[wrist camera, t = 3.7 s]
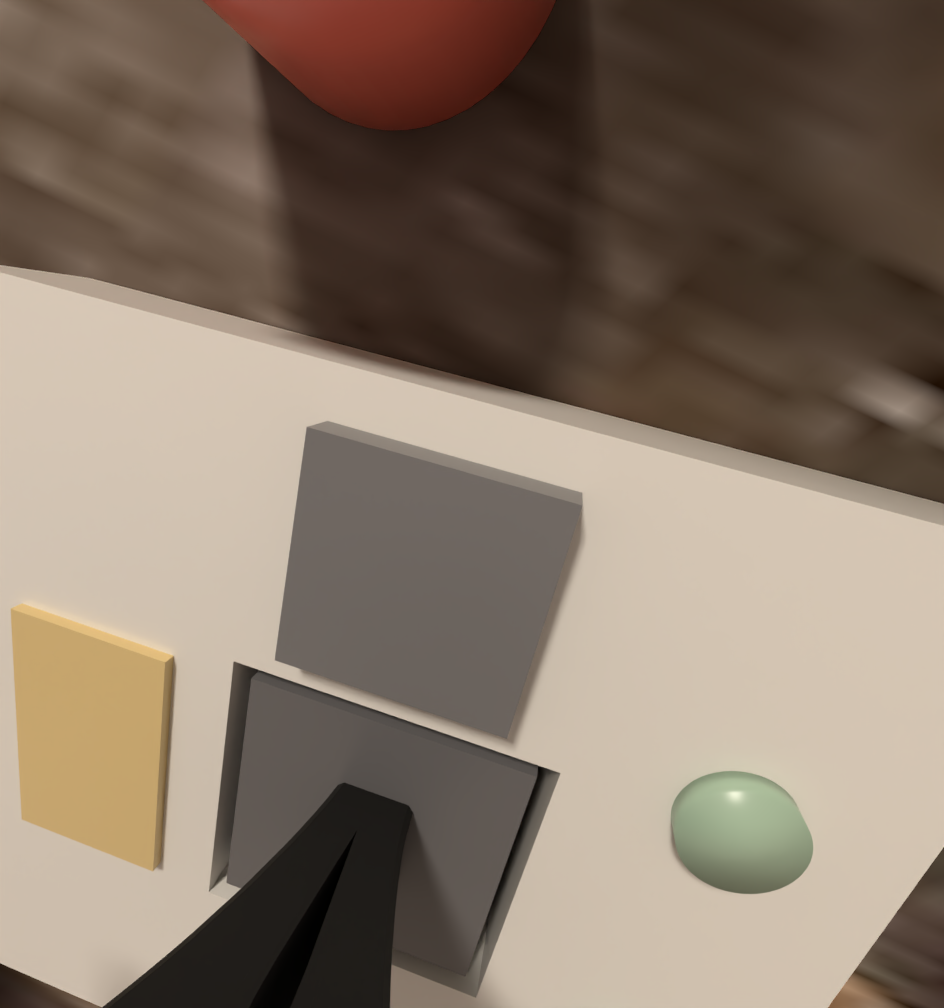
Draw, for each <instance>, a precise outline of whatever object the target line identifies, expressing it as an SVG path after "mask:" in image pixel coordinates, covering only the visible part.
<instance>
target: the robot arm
mask: <svg viewBox="0 0 944 1008" xmlns="http://www.w3.org/2000/svg"><path fill="white" fill-rule="evenodd" d="M412 815H413V812H412V810H411V808H410V807H409V805H406V804H403V803H401V802H398V801H395V800H392V799H389V798H386V797H384V796H381V795H378V794H375V793H373V792H370V791H367V790H364V789H361V788H359V787H356V786H353V785H350V784H348V783H345V782H344V783H342V784H339V785H337V787H336V788H335V789H334V790H333V792H332V793H331V794H330V795H329V797H328V798H327V799H326V800H325V801H324V803H323V804H322V805H321V806H320V807H319V808H318V810H317V811H316V812H315V813H314V814H313V815H312V816H311V818H310V819H309V820H308V821H307V822H306V823H305V824H304V825H303V826H302V827H301V828H300V830H299V831H298V832H297V833H296V834H295V835H294V836H293V837H292V838H291V839H290V840H289V841H288V842H287V843H286V844H285V845H284V847H283V848H281V849H280V850H279V851H278V852H277V853H276V854H275V855H274V856H273V857H272V858H271V859H270V860H269V861H268V862H267V863H266V864H265V865H264V866H263V867H262V868H261V869H260V870H259V871H258V872H257V873H256V874H255V875H254V876H253V877H252V878H251V879H250V880H249V881H248V882H247V883H246V884H245V885H244V886H243V887H242V888H241V889H240V890H239V891H238V892H237V893H236V894H235V895H233V896H232V897H231V898H230V899H229V900H228V901H227V902H226V903H225V904H224V905H222V906H221V907H220V908H219V909H218V910H217V911H216V912H215V913H214V914H213V915H211V916H210V917H209V918H208V919H207V920H206V921H205V922H204V923H203V924H202V925H200V926H199V927H198V928H197V929H196V930H195V931H194V932H193V933H192V934H190V935H189V936H188V937H187V938H186V939H185V940H184V941H182V942H181V943H180V944H179V945H178V946H177V947H175V948H174V949H173V950H172V951H171V952H170V953H168V954H167V955H166V956H165V957H164V958H162V959H161V960H160V961H159V962H158V963H156V964H155V965H154V966H153V967H152V968H150V969H149V970H148V971H147V972H146V973H144V974H143V975H142V976H141V977H139V978H138V979H137V980H136V981H134V982H133V983H132V984H131V985H130V986H128V987H127V988H126V989H125V990H123V991H122V992H121V993H120V994H118V995H117V996H116V997H115V998H113V999H112V1000H111V1001H110V1002H108V1003H107V1004H106V1005H104V1006H103V1007H102V1008H390V988H391V965H392V948H393V935H394V922H395V908H396V899H397V889H398V882H399V875H400V868H401V861H402V855H403V849H404V845H405V841H406V837H407V833H408V830H409V826H410V822H411V818H412Z"/></svg>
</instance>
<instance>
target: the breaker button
mask: <svg viewBox="0 0 944 1008" xmlns="http://www.w3.org/2000/svg"><path fill="white" fill-rule="evenodd" d="M537 772H538V765H535V764H532V763H529V762H527V761H524V760H521V759H518V758H515V757H512V756H509V755H506V754H503V753H500V752H497V751H494V750H492V749H489V748H486V747H483V746H480V745H477V744H474V743H471V742H468V741H465V740H462V739H459V738H456V737H454V736H451V735H448V734H445V733H442V732H439V731H436V730H433V729H430V728H427V727H424V726H421V725H418V724H416V723H413V722H410V721H407V720H404V719H401V718H398V717H395V716H392V715H389V714H386V713H383V712H380V711H378V710H375V709H372V708H369V707H366V706H363V705H360V704H357V703H354V702H351V701H348V700H345V699H342V698H340V697H337V696H334V695H331V694H328V693H325V692H322V691H319V690H316V689H313V688H310V687H307V686H304V685H302V684H299V683H296V682H293V681H290V680H287V679H284V678H281V677H278V676H275V675H272V674H269V673H266V672H264V671H261V670H259V671H258V672H257V673H256V674H255V675H254V676H253V677H252V678H251V685H250V693H249V701H248V709H247V718H246V726H245V734H244V742H243V750H242V759H241V767H240V775H239V783H238V791H237V800H236V808H235V816H234V824H233V832H232V840H231V849H230V857H229V865H228V873H227V881H226V883H228V884H230V885H233V886H236V887H238V888H242V887H243V886H244V885H245V884H246V883H247V882H248V881H249V880H250V879H251V878H252V877H253V876H254V875H255V874H256V873H257V872H258V871H259V870H260V869H261V868H262V867H263V866H264V865H265V864H266V863H267V862H268V861H269V860H270V859H271V858H272V857H273V856H274V855H275V854H276V853H277V852H278V851H279V850H280V849H281V848H283V847H284V845H285V844H286V843H287V842H288V841H289V840H290V839H291V838H292V837H293V836H294V835H295V834H296V833H297V832H298V831H299V830H300V828H301V827H302V826H303V825H304V824H305V823H306V822H307V821H308V820H309V819H310V818H311V816H312V815H313V814H314V813H315V812H316V811H317V810H318V808H319V807H320V806H321V805H322V804H323V803H324V801H325V800H326V799H327V798H328V797H329V795H330V794H331V793H332V792H333V790H334V789H335V788H336V787H337V785H339V784H342V783H344V782H345V783H348V784H350V785H353V786H356V787H359V788H361V789H364V790H367V791H370V792H373V793H375V794H378V795H381V796H384V797H386V798H389V799H392V800H395V801H398V802H401V803H403V804H406V805H409V807H410V808H411V810H412V812H413V815H412V818H411V822H410V826H409V830H408V833H407V837H406V841H405V845H404V849H403V855H402V861H401V868H400V875H399V882H398V889H397V899H396V908H395V922H394V935H393V949H396V950H399V951H401V952H404V953H406V954H409V955H411V956H414V957H416V958H419V959H421V960H424V961H427V962H429V963H432V964H434V965H437V966H439V967H442V968H444V969H447V970H449V971H452V972H455V973H457V974H460V975H462V976H466V974H467V971H468V968H469V965H470V963H471V960H472V957H473V954H474V951H475V949H476V946H477V943H478V940H479V937H480V935H481V932H482V929H483V926H484V923H485V921H486V918H487V915H488V912H489V910H490V907H491V904H492V901H493V898H494V896H495V893H496V890H497V887H498V884H499V882H500V879H501V876H502V873H503V871H504V868H505V865H506V862H507V859H508V857H509V854H510V851H511V848H512V845H513V843H514V840H515V837H516V834H517V832H518V829H519V826H520V823H521V820H522V818H523V815H524V812H525V809H526V806H527V804H528V801H529V798H530V795H531V793H532V790H533V787H534V784H535V781H536V779H537Z"/></svg>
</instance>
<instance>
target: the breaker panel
mask: <svg viewBox="0 0 944 1008" xmlns="http://www.w3.org/2000/svg"><path fill="white" fill-rule="evenodd" d="M259 670H261V671H264V672H266V673H269V674H272V675H275V676H278V677H281V678H284V679H287V680H290V681H293V682H296V683H299V684H302V685H304V686H307V687H310V688H313V689H316V690H319V691H322V692H325V693H328V694H331V695H334V696H337V697H340V698H342V699H345V700H348V701H351V702H354V703H357V704H360V705H363V706H366V707H369V708H372V709H375V710H378V711H380V712H383V713H386V714H389V715H392V716H395V717H398V718H401V719H404V720H407V721H410V722H413V723H416V724H418V725H421V726H424V727H427V728H430V729H433V730H436V731H439V732H442V733H445V734H448V735H451V736H454V737H456V738H459V739H462V740H465V741H468V742H471V743H474V744H477V745H480V746H483V747H486V748H489V749H492V750H494V751H497V752H500V753H503V754H506V755H509V756H512V757H515V758H518V759H521V760H524V761H527V762H529V763H532V764H535V765H538V772H537V779H536V781H535V784H534V787H533V790H532V793H531V795H530V798H529V801H528V804H527V806H526V809H525V812H524V815H523V818H522V820H521V823H520V826H519V829H518V832H517V834H516V837H515V840H514V843H513V845H512V848H511V851H510V854H509V857H508V859H507V862H506V865H505V868H504V871H503V873H502V876H501V879H500V882H499V884H498V887H497V890H496V893H495V896H494V898H493V901H492V904H491V907H490V910H489V912H488V915H487V918H486V921H485V923H484V926H483V929H482V932H481V935H480V937H479V940H478V943H477V946H476V949H475V951H474V954H473V957H472V960H471V963H470V965H469V968H468V971H467V974H466V976H462V975H460V974H457V973H455V972H452V971H449V970H447V969H444V968H442V967H439V966H437V965H434V964H432V963H429V962H427V961H424V960H421V959H419V958H416V957H414V956H411V955H409V954H406V953H404V952H401V951H399V950H396V949H393V948H392V965H391V988H390V1008H828V1006H829V1005H830V1004H831V1002H832V1001H833V999H834V998H835V997H836V995H837V994H838V993H839V991H840V990H841V988H842V987H843V986H844V984H845V983H846V981H847V980H848V979H849V977H850V976H851V975H852V973H853V972H854V970H855V969H856V968H857V966H858V965H859V963H860V962H861V961H862V959H863V958H864V957H865V955H866V954H867V952H868V951H869V950H870V948H871V947H872V945H873V944H874V943H875V941H876V940H877V939H878V937H879V936H880V934H881V933H882V932H883V930H884V929H885V927H886V926H887V925H888V923H889V922H890V921H891V919H892V918H893V916H894V915H895V914H896V912H897V911H898V909H899V908H900V907H901V905H902V904H903V903H904V901H905V900H906V898H907V897H908V896H909V894H910V893H911V891H912V890H913V889H914V887H915V886H916V885H917V883H918V882H919V880H920V879H921V878H922V876H923V875H924V873H925V872H926V871H927V869H928V868H929V867H930V865H931V864H932V862H933V861H934V860H935V858H936V857H937V855H938V854H939V853H940V851H941V850H942V849H943V847H944V504H942V503H939V502H935V501H931V500H927V499H924V498H920V497H916V496H912V495H908V494H905V493H901V492H897V491H893V490H890V489H886V488H882V487H878V486H874V485H871V484H867V483H863V482H859V481H856V480H852V479H848V478H844V477H840V476H837V475H833V474H829V473H825V472H821V471H818V470H814V469H810V468H806V467H803V466H799V465H795V464H791V463H787V462H784V461H780V460H776V459H772V458H769V457H765V456H761V455H757V454H753V453H750V452H746V451H742V450H738V449H735V448H731V447H727V446H723V445H719V444H716V443H712V442H708V441H704V440H700V439H697V438H693V437H689V436H685V435H682V434H678V433H674V432H670V431H666V430H663V429H659V428H655V427H651V426H648V425H644V424H640V423H636V422H632V421H629V420H625V419H621V418H617V417H614V416H610V415H606V414H602V413H598V412H595V411H591V410H587V409H583V408H580V407H576V406H572V405H568V404H564V403H561V402H557V401H553V400H549V399H545V398H542V397H538V396H534V395H530V394H527V393H523V392H519V391H515V390H511V389H508V388H504V387H500V386H496V385H493V384H489V383H485V382H481V381H477V380H474V379H470V378H466V377H462V376H459V375H455V374H451V373H447V372H443V371H440V370H436V369H432V368H428V367H425V366H421V365H417V364H413V363H409V362H406V361H402V360H398V359H394V358H390V357H387V356H383V355H379V354H375V353H372V352H368V351H364V350H360V349H356V348H353V347H349V346H345V345H341V344H338V343H334V342H330V341H326V340H322V339H319V338H315V337H311V336H307V335H304V334H300V333H296V332H292V331H288V330H285V329H281V328H277V327H273V326H269V325H266V324H262V323H258V322H254V321H251V320H247V319H243V318H239V317H235V316H232V315H228V314H224V313H220V312H217V311H213V310H209V309H205V308H201V307H198V306H194V305H190V304H186V303H183V302H179V301H175V300H171V299H167V298H164V297H160V296H156V295H152V294H149V293H145V292H141V291H137V290H133V289H130V288H126V287H122V286H118V285H114V284H111V283H107V282H103V281H99V280H96V279H92V278H85V277H79V276H72V275H65V274H58V273H51V272H44V271H37V270H30V269H23V268H16V267H9V266H3V265H0V963H1V964H3V965H5V966H8V967H10V968H12V969H15V970H17V971H19V972H22V973H24V974H26V975H29V976H31V977H33V978H36V979H38V980H40V981H42V982H45V983H47V984H49V985H52V986H54V987H56V988H59V989H61V990H63V991H66V992H68V993H70V994H72V995H75V996H77V997H79V998H82V999H84V1000H86V1001H89V1002H91V1003H93V1004H96V1005H98V1006H100V1007H103V1006H104V1005H106V1004H107V1003H108V1002H110V1001H111V1000H112V999H113V998H115V997H116V996H117V995H118V994H120V993H121V992H122V991H123V990H125V989H126V988H127V987H128V986H130V985H131V984H132V983H133V982H134V981H136V980H137V979H138V978H139V977H141V976H142V975H143V974H144V973H146V972H147V971H148V970H149V969H150V968H152V967H153V966H154V965H155V964H156V963H158V962H159V961H160V960H161V959H162V958H164V957H165V956H166V955H167V954H168V953H170V952H171V951H172V950H173V949H174V948H175V947H177V946H178V945H179V944H180V943H181V942H182V941H184V940H185V939H186V938H187V937H188V936H189V935H190V934H192V933H193V932H194V931H195V930H196V929H197V928H198V927H199V926H200V925H202V924H203V923H204V922H205V921H206V920H207V919H208V918H209V917H210V916H211V915H213V914H214V913H215V912H216V911H217V910H218V909H219V908H220V907H221V906H222V905H224V904H225V903H226V902H227V901H228V900H229V899H230V898H231V897H232V896H233V895H235V894H236V893H237V892H238V891H239V890H240V889H241V888H238V887H236V886H233V885H230V884H228V883H226V881H227V873H228V865H229V857H230V849H231V840H232V832H233V824H234V816H235V808H236V800H237V791H238V783H239V775H240V767H241V759H242V750H243V742H244V734H245V726H246V718H247V709H248V701H249V693H250V685H251V678H252V677H253V676H254V675H255V674H256V673H257V672H258V671H259Z"/></svg>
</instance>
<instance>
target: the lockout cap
mask: <svg viewBox="0 0 944 1008" xmlns="http://www.w3.org/2000/svg"><path fill="white" fill-rule="evenodd" d="M203 1H204V2H205V3H206V4H207V5H208V6H209V7H210V8H211V9H212V10H214V11H215V12H216V13H217V14H218V15H219V16H220V17H221V18H222V19H223V20H224V21H225V22H226V23H228V24H229V25H230V26H231V27H232V28H233V29H234V30H235V31H236V32H237V33H238V34H239V35H240V36H241V37H243V38H244V39H245V40H246V41H247V42H248V43H249V44H250V45H251V46H252V47H253V48H254V49H255V50H256V51H258V52H259V53H260V54H261V55H262V56H263V57H264V58H265V59H266V60H267V61H268V62H269V63H270V64H272V65H273V66H274V67H275V68H276V69H277V70H278V71H279V72H280V73H281V74H282V75H283V76H284V77H285V78H287V79H288V80H289V81H290V82H291V83H292V84H293V85H294V86H295V87H296V88H297V89H298V90H300V91H301V92H302V93H303V94H304V95H305V96H306V97H307V98H308V99H310V100H311V101H312V102H313V103H315V104H316V105H318V106H319V107H321V108H322V109H324V110H325V111H327V112H328V113H330V114H332V115H334V116H336V117H338V118H340V119H342V120H345V121H347V122H349V123H353V124H356V125H359V126H363V127H366V128H372V129H380V130H410V129H415V128H421V127H426V126H430V125H433V124H436V123H438V122H441V121H444V120H447V119H449V118H451V117H453V116H455V115H457V114H459V113H461V112H463V111H465V110H467V109H469V108H470V107H471V106H473V105H474V104H476V103H477V102H479V101H480V100H481V99H483V98H484V97H486V96H487V95H488V94H489V93H490V92H492V91H493V90H494V89H495V88H496V87H497V86H498V85H499V84H500V83H501V82H502V81H504V80H505V79H506V78H507V77H508V75H509V74H510V73H511V72H512V71H513V70H514V68H515V67H516V66H517V65H518V64H519V62H520V61H521V60H522V59H523V58H524V56H525V55H526V53H527V52H528V50H529V49H530V47H531V46H532V44H533V43H534V41H535V40H536V38H537V37H538V36H539V34H540V32H541V30H542V28H543V26H544V24H545V22H546V20H547V19H548V17H549V15H550V13H551V11H552V9H553V6H554V4H555V1H556V0H203Z"/></svg>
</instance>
